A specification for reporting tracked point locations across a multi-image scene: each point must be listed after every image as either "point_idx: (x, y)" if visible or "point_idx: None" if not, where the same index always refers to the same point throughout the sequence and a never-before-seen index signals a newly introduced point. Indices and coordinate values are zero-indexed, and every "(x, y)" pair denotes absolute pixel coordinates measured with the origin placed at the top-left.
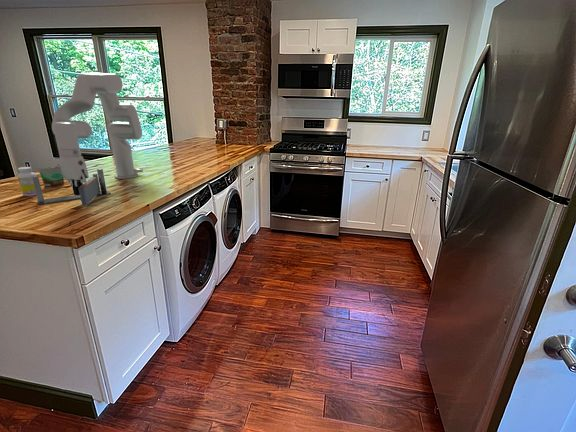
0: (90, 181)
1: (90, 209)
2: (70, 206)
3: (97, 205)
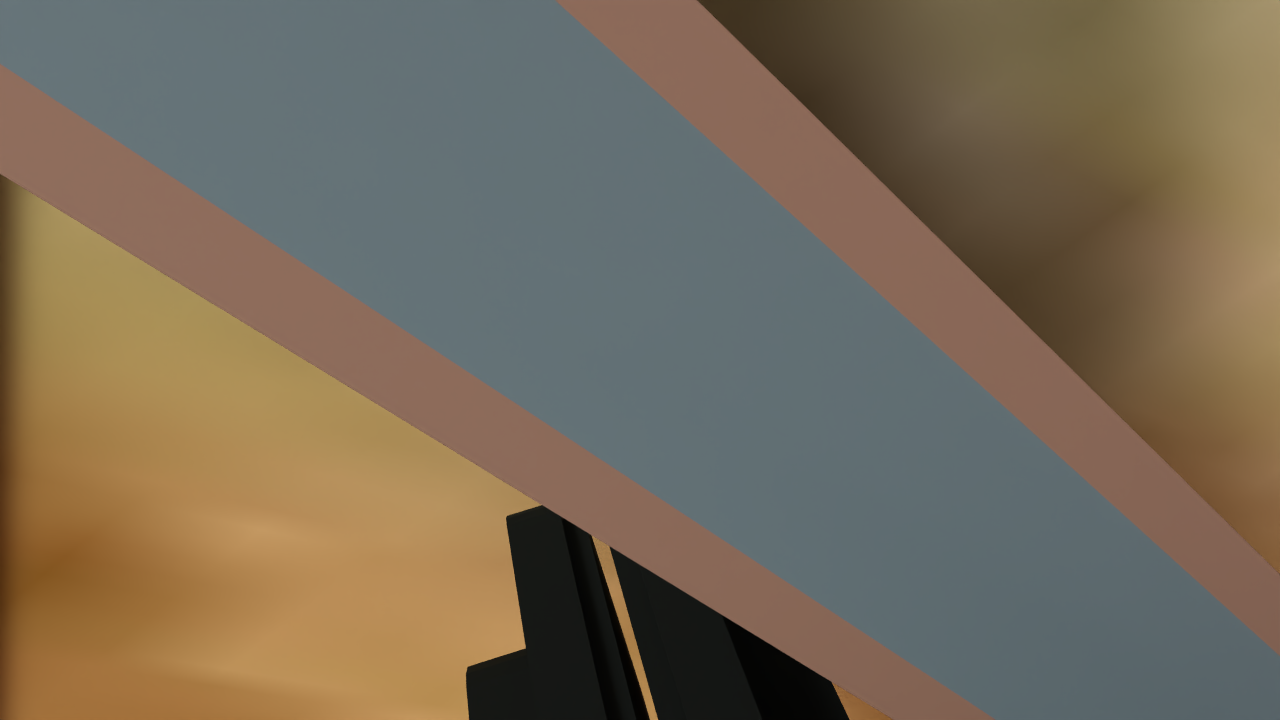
0: (1004, 360)
1: (1258, 422)
2: (631, 640)
3: (1170, 170)
